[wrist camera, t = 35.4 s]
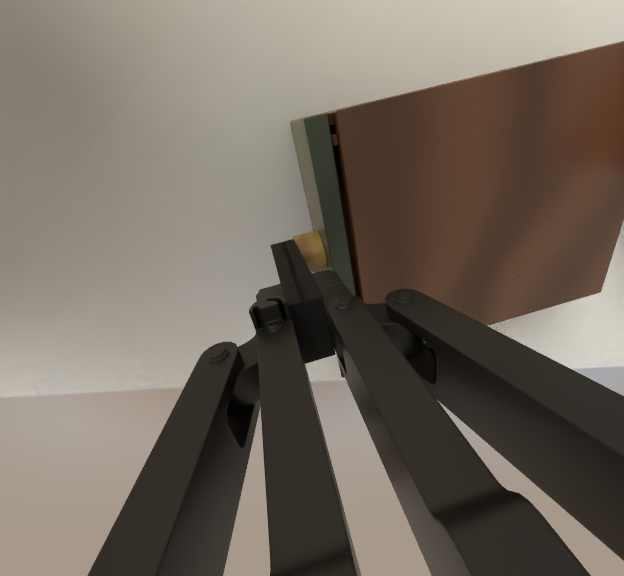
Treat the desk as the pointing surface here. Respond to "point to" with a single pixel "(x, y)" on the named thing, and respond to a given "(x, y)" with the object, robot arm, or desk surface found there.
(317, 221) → the drawer
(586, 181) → the box
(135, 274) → the desk surface
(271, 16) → the desk surface
